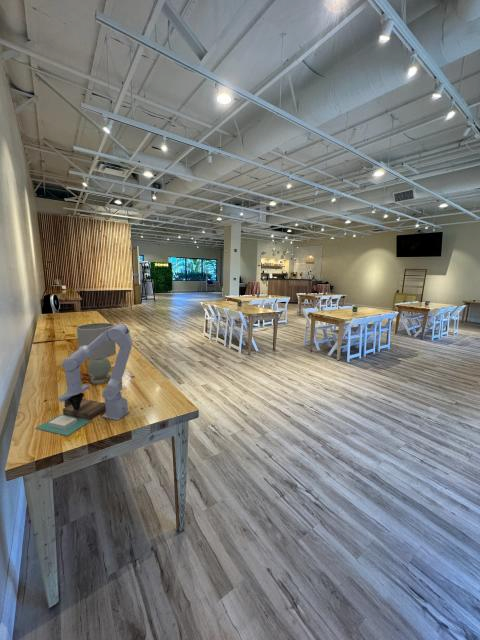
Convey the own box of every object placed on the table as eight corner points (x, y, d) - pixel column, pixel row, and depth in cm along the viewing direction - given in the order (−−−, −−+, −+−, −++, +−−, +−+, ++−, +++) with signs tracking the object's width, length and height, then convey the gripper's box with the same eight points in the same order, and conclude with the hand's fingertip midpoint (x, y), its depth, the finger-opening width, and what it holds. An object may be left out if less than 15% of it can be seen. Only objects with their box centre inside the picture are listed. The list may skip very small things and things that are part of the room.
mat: (91, 421, 122) (90, 420, 122) (67, 436, 111) (67, 435, 111) (60, 414, 127) (60, 414, 127) (35, 428, 116) (35, 428, 116)
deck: (108, 408, 133) (107, 403, 133) (90, 420, 123) (89, 414, 122) (82, 404, 137) (82, 398, 137) (63, 414, 127) (62, 408, 127)
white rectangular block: (64, 425, 114) (65, 430, 114) (76, 418, 120) (77, 422, 120) (48, 422, 116) (49, 426, 117) (61, 415, 122) (61, 419, 122)
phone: (64, 406, 134) (64, 394, 146) (65, 408, 134) (64, 396, 146) (82, 402, 138) (80, 391, 151) (83, 404, 139) (80, 393, 151)
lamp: (105, 372, 181) (101, 321, 175) (124, 378, 171) (121, 324, 165) (75, 382, 164) (69, 326, 158) (94, 390, 154) (89, 330, 148)
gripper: (80, 375, 130) (82, 401, 133) (52, 387, 117) (55, 415, 119) (91, 376, 128) (94, 403, 131) (64, 389, 115) (67, 418, 117)
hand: (76, 409), depth 125 cm, fingers closed
